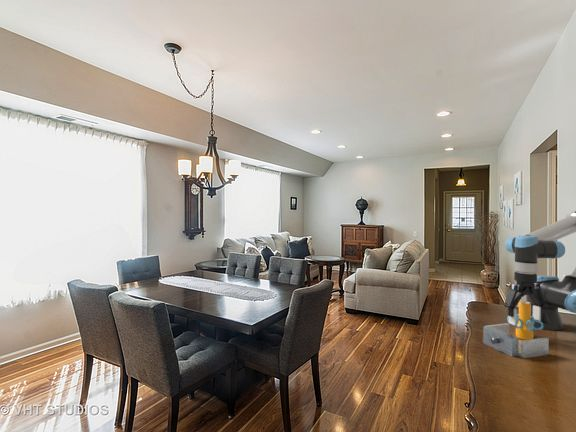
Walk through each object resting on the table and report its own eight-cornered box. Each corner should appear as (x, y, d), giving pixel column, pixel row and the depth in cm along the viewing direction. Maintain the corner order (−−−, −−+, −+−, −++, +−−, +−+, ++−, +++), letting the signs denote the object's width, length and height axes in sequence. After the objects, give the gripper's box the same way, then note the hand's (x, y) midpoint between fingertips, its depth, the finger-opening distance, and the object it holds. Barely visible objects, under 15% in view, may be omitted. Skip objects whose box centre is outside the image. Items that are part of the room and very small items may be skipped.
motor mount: (507, 337, 128) (507, 322, 128) (548, 354, 113) (548, 337, 113) (474, 341, 124) (475, 325, 124) (513, 359, 108) (513, 341, 108)
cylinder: (547, 345, 121) (548, 307, 121) (518, 342, 123) (518, 305, 123) (530, 333, 133) (530, 299, 133) (503, 331, 135) (504, 297, 135)
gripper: (538, 269, 135) (537, 317, 135) (494, 271, 128) (493, 322, 128) (557, 272, 128) (556, 323, 128) (511, 275, 121) (510, 328, 121)
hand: (524, 322), depth 128 cm, fingers open, 13 cm apart
